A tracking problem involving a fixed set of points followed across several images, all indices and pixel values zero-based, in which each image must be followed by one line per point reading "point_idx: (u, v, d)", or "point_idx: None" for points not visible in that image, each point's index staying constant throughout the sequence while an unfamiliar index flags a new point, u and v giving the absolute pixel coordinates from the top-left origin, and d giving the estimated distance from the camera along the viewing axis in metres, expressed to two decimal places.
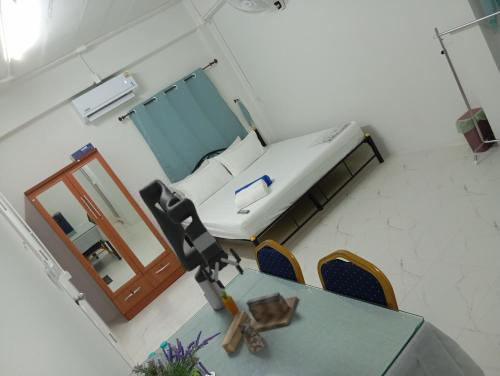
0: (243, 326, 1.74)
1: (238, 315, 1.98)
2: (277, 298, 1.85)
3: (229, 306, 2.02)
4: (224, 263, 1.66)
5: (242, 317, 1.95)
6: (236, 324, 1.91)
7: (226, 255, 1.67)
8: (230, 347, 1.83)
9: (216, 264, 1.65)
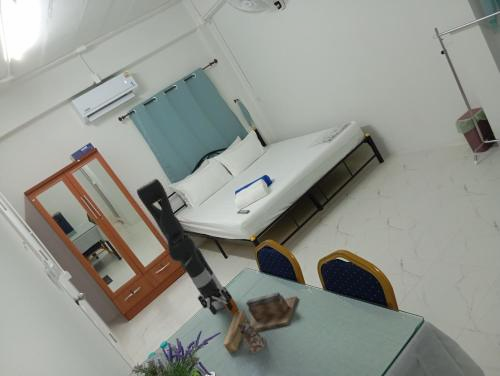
0: (243, 326, 1.74)
1: (236, 315, 1.98)
2: (277, 298, 1.85)
3: None
4: (215, 298, 1.86)
5: (241, 317, 1.96)
6: (236, 324, 1.92)
7: (217, 294, 1.84)
8: (232, 346, 1.82)
9: (207, 298, 1.86)
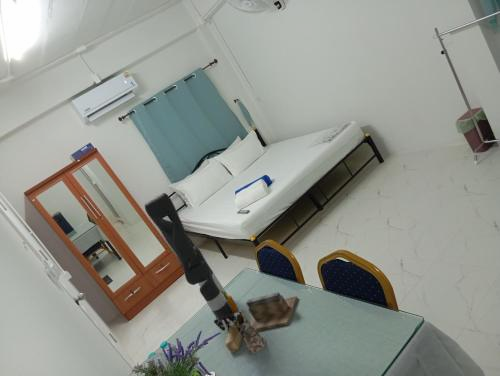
0: (243, 326, 1.74)
1: None
2: (277, 298, 1.85)
3: None
4: None
5: None
6: None
7: (232, 316, 1.87)
8: (234, 345, 1.82)
9: (222, 321, 1.89)
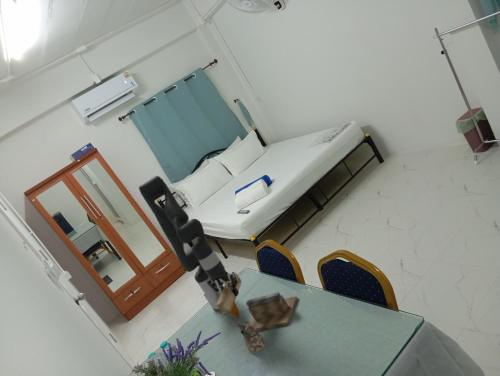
0: (243, 326, 1.74)
1: None
2: (277, 298, 1.85)
3: None
4: None
5: None
6: None
7: (225, 277, 1.82)
8: (226, 306, 1.77)
9: (215, 281, 1.84)
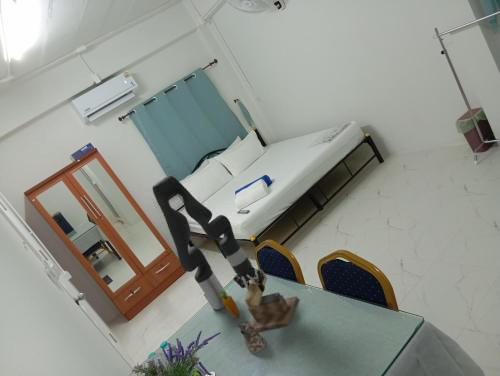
0: (243, 326, 1.74)
1: None
2: (277, 298, 1.85)
3: (229, 306, 2.02)
4: None
5: None
6: None
7: (252, 272, 1.83)
8: (253, 301, 1.78)
9: (242, 277, 1.85)
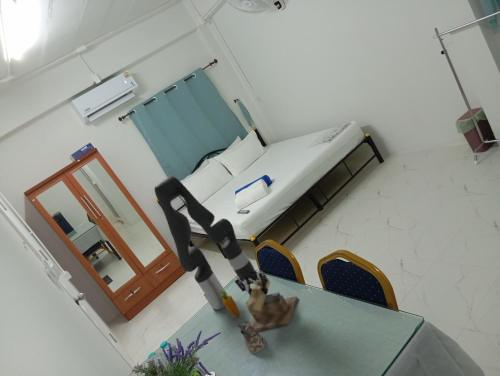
0: (243, 326, 1.74)
1: None
2: (277, 298, 1.85)
3: (229, 306, 2.02)
4: None
5: None
6: (259, 286, 1.88)
7: (254, 276, 1.84)
8: (256, 307, 1.79)
9: (244, 281, 1.85)
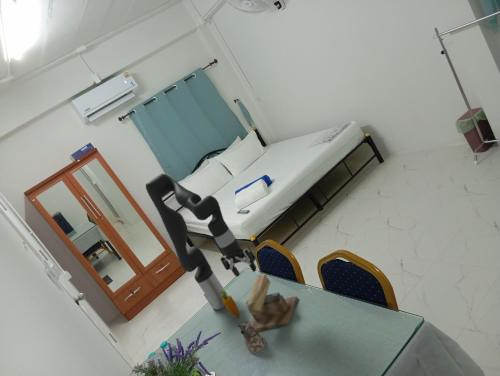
0: (243, 326, 1.74)
1: (259, 278, 1.95)
2: (277, 298, 1.85)
3: (229, 306, 2.02)
4: None
5: (263, 280, 1.92)
6: (259, 286, 1.88)
7: (241, 254, 1.81)
8: (256, 307, 1.79)
9: (231, 259, 1.83)
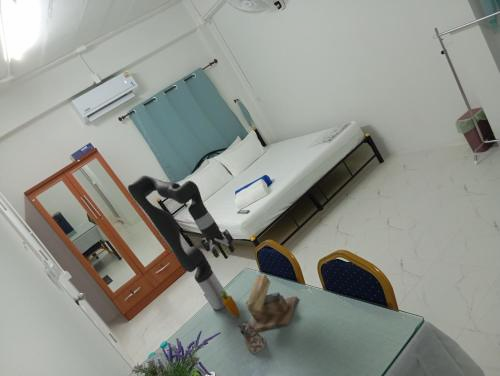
0: (243, 326, 1.74)
1: (259, 278, 1.95)
2: (277, 298, 1.85)
3: (229, 306, 2.02)
4: (217, 241, 1.94)
5: (263, 280, 1.92)
6: (259, 286, 1.88)
7: (220, 236, 1.92)
8: (256, 307, 1.79)
9: (210, 241, 1.94)
